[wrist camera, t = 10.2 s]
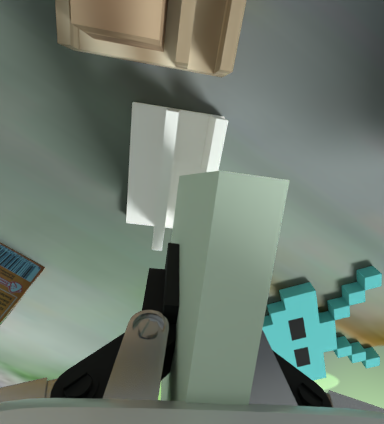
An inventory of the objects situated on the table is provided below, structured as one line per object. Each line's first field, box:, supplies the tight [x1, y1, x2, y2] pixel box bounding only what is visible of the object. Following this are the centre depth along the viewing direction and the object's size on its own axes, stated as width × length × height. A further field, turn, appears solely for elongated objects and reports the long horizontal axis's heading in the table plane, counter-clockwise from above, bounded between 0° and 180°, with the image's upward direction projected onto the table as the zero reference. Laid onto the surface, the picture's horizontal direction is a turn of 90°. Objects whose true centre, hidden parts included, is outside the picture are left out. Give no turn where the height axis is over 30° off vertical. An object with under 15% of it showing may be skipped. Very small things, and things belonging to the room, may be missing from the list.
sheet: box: [161, 171, 289, 405], centre depth 14 cm, size 1×10×18 cm, turn 171°
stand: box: [126, 102, 228, 251], centre depth 25 cm, size 9×13×6 cm
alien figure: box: [262, 266, 382, 380], centre depth 39 cm, size 20×2×20 cm
